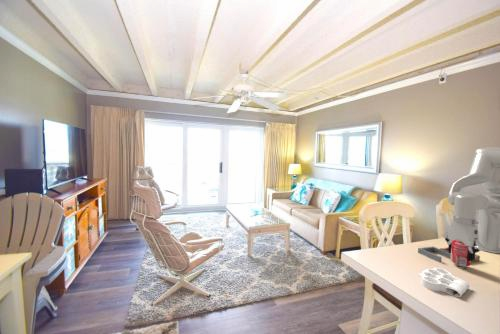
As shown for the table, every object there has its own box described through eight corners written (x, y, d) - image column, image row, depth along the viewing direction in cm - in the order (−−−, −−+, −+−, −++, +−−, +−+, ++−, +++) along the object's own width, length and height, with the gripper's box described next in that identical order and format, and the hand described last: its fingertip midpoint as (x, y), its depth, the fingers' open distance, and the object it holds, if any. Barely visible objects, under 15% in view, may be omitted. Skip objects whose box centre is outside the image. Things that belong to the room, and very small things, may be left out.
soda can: (461, 260, 108) (463, 237, 107) (474, 268, 101) (477, 243, 100) (446, 259, 108) (448, 236, 108) (458, 267, 101) (460, 242, 101)
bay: (432, 250, 121) (432, 246, 121) (455, 260, 111) (455, 255, 111) (417, 252, 118) (418, 248, 118) (439, 262, 108) (440, 257, 108)
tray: (453, 251, 122) (454, 246, 121) (479, 260, 111) (479, 256, 111) (439, 252, 119) (439, 248, 118) (464, 263, 108) (464, 258, 108)
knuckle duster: (457, 303, 78) (410, 282, 91) (471, 287, 88) (427, 270, 100) (458, 294, 78) (411, 274, 90) (472, 279, 88) (428, 263, 100)
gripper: (493, 226, 96) (489, 264, 97) (448, 214, 112) (445, 248, 114) (482, 227, 94) (478, 266, 95) (438, 215, 110) (435, 249, 112)
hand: (460, 256), depth 104 cm, fingers closed on soda can, 7 cm apart
